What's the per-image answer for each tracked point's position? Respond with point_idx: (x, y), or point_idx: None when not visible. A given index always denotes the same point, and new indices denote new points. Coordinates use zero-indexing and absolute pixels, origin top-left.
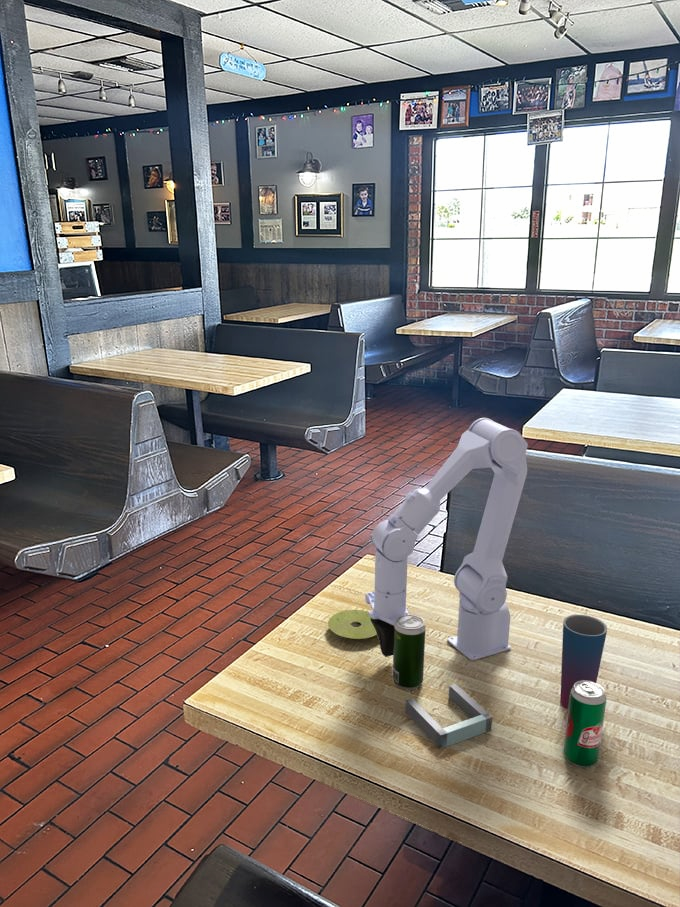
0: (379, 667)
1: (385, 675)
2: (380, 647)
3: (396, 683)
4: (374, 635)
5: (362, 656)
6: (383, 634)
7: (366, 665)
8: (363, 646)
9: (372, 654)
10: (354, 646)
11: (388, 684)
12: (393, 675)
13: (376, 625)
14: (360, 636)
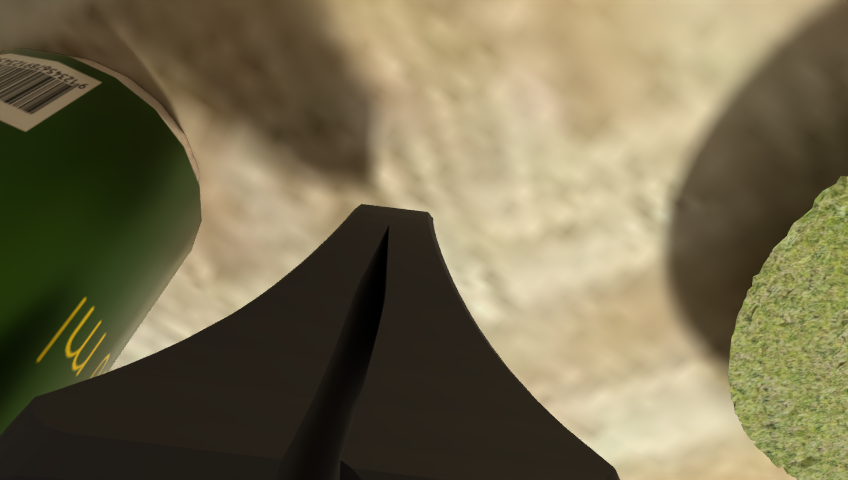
0: (385, 104)
1: (248, 73)
2: (427, 237)
3: (9, 51)
4: (734, 334)
5: (633, 80)
6: (150, 370)
7: (482, 18)
8: (753, 187)
9: (593, 176)
10: (826, 119)
11: (106, 7)
12: (33, 75)
13: (349, 452)
14: (843, 229)
